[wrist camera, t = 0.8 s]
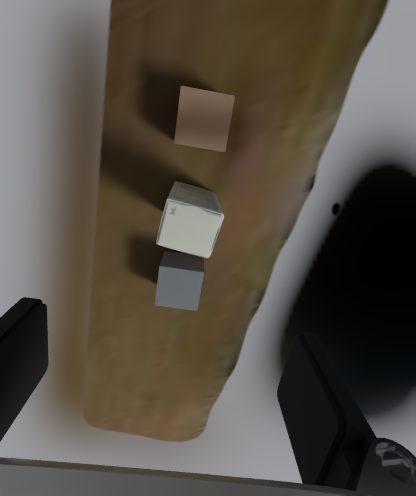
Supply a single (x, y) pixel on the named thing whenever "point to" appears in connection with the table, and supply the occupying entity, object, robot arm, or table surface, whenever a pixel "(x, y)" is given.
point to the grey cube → (179, 280)
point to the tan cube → (203, 118)
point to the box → (190, 220)
